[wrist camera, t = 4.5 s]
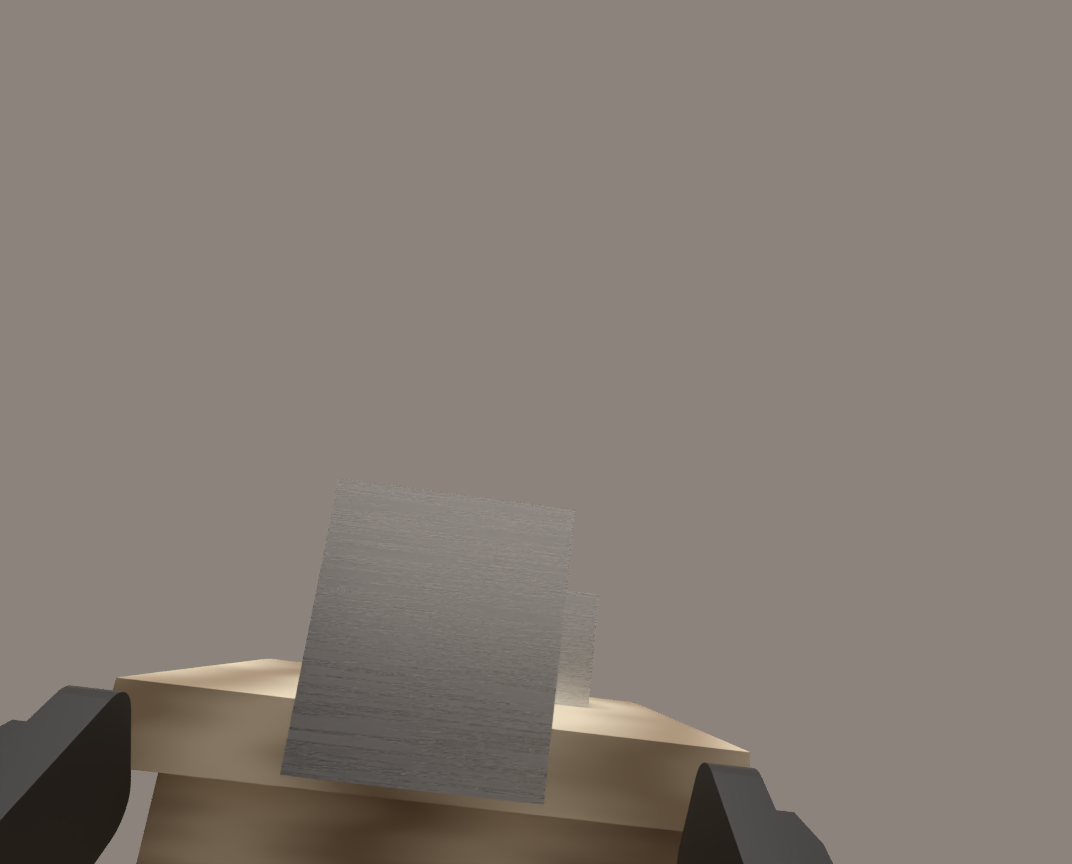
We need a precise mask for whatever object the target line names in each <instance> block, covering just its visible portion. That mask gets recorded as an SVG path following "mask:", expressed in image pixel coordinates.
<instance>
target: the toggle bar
mask: <svg viewBox="0 0 1072 864" xmlns="http://www.w3.org/2000/svg"><path fill="white" fill-rule="evenodd" d="M574 514H575V510H570V509H563V508H555V507H548V506H541V505H533V504H525V503H518V502H510V501H503V500H495V499H488V498H480V497H472V496H465V495H458V494H450V493H442V492H435V491H428V490H420V489H413V488H405V487H398V486H390V485H382V484H375V483H368V482H360V481H353V480H345V479H338V484H337V489H336V494H335V499H334V504H333V510H332V514H331V519H330V524H329V529H328V535H327V540H326V544H325V550H324V555H323V560H322V565H321V570H320V575H319V580H318V585H317V590H316V595H315V600H314V605H313V611H312V616H311V620H310V626H309V631H308V636H307V640H306V646H305V651H304V656H303V661H302V666H301V671H300V676H299V681H298V686H297V691H296V696H295V701H294V706H293V711H292V716H291V721H290V726H289V731H288V737H287V742H286V747H285V752H284V757H283V762H282V767H281V772H280V775H282V776H291V777H300V778H309V779H318V780H326V781H335V782H344V783H353V784H362V785H371V786H380V787H389V788H397V789H406V790H415V791H424V792H433V793H442V794H451V795H460V796H469V797H477V798H486V799H495V800H504V801H513V802H522V803H531V804H540V805H544V799H545V790H546V780H547V771H548V761H549V752H550V742H551V733H552V723H553V714H554V704H558V705H567V706H575V707H583V708H588V706H589V695H590V685H591V674H592V663H593V652H594V641H595V630H596V620H597V609H598V599H599V596H598V595H594V594H586V593H578V592H569V591H566V590H567V581H568V571H569V562H570V551H571V543H572V533H573V524H574Z"/></svg>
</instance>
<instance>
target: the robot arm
mask: <svg viewBox="0 0 1072 864" xmlns="http://www.w3.org/2000/svg"><path fill="white" fill-rule="evenodd" d="M130 785H131V701H130V697H129V695H128V694H127V693H125V692H121V691H112V690H104V689H95V688H87V687H79V686H66V687H64V688H62V689H61V690H59V691H58V692H57V693H56V694H55V695H54V696H53V697H52V698H51V699H49V701H47V702H46V703H45V704H44V705H43V706H42V707H41V708H40V709H39V710H38V711H37V712H36V713H35V714H34V715H33V716H32V717H31V718H30V719H29V720H28V721H17V720H11V721H9V722H7V723H6V724H4V725H2V726H0V864H94V863H95V862H96V861H97V859H98V858H99V856H100V855H101V853H102V852H103V851H104V849H105V848H106V846H107V845H108V843H109V842H110V841H111V839H112V837H113V836H114V834H115V833H116V831H117V829H118V827H119V825H120V823H121V820H122V818H123V815H124V812H125V810H126V806H127V803H128V799H129V794H130ZM677 864H833V863H832V861H831V859H830V857H829V855H828V853H827V851H826V848H825V846H824V845H823V843H822V842H821V841H820V840H819V839H818V838H817V837H816V836H815V835H814V834H813V832H812V831H811V830H810V829H809V828H808V827H807V826H806V825H805V824H804V823H803V822H802V820H801V819H799V817H798V816H797V815H796V814H795V813H794V812H786V811H777V810H776V809H775V807H774V804H773V802H772V800H771V798H770V795H769V793H768V791H767V789H766V786H765V784H764V782H763V779H762V777H761V775H760V774H759V772H758V771H757V770H756V769H754V768H748V767H739V766H731V765H722V764H714V763H705V762H704V763H702V764H701V765H700V767H699V768H698V771H697V774H696V778H695V782H694V786H693V791H692V795H691V799H690V803H689V808H688V812H687V816H686V820H685V825H684V829H683V833H682V837H681V842H680V846H679V851H678V858H677Z"/></svg>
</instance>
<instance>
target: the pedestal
mask: <svg viewBox="0 0 1072 864" xmlns="http://www.w3.org/2000/svg"><path fill="white" fill-rule="evenodd" d="M301 666H302V663H301V662H293V661H285V660H275V659H262V660H254V661H246V662H238V663H230V664H221V665H213V666H205V667H197V668H189V669H181V670H173V671H165V672H157V673H149V674H141V675H133V676H125V677H117V678H116V680H115V684H114V688H113V691H121V692H125V693H127V694H128V695H129V697H130V701H131V770H140V771H149V772H158V776H157V780H156V784H155V789H154V793H153V798H152V801H151V805H150V809H149V814H148V818H147V822H146V826H145V830H144V835H143V838H142V843H141V847H140V851H139V855H138V859H137V863H136V864H677V858H678V851H679V846H680V842H681V837H682V833H683V829H684V825H685V820H686V816H687V812H688V808H689V803H690V799H691V795H692V791H693V786H694V782H695V778H696V774H697V771H698V768H699V767H700V765H701V764H702V763H704V762H705V763H714V764H722V765H731V766H739V767H748V768H750V752H748V751H746V750H744V749H741V748H739V747H737V746H734V745H732V744H730V743H727V742H725V741H722V740H720V739H718V738H716V737H713V736H711V735H709V734H706V733H704V732H701V731H699V730H697V729H695V728H692V727H690V726H687V725H685V724H683V723H681V722H678V721H676V720H674V719H671V718H669V717H667V716H664V715H662V714H660V713H657V712H655V711H653V710H650V709H648V708H645V707H643V706H641V705H639V704H636V703H633V702H624V701H617V700H608V699H599V698H591V697H589V706H588V708H583V707H575V706H567V705H558V704H554V714H553V723H552V733H551V742H550V752H549V761H548V771H547V780H546V790H545V799H544V805H540V804H531V803H522V802H513V801H504V800H495V799H486V798H477V797H469V796H460V795H451V794H442V793H433V792H424V791H415V790H406V789H397V788H389V787H380V786H371V785H362V784H353V783H344V782H335V781H326V780H318V779H309V778H300V777H291V776H282V775H280V772H281V767H282V762H283V757H284V752H285V747H286V742H287V737H288V731H289V726H290V721H291V716H292V711H293V706H294V701H295V696H296V691H297V686H298V681H299V676H300V671H301Z"/></svg>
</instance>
